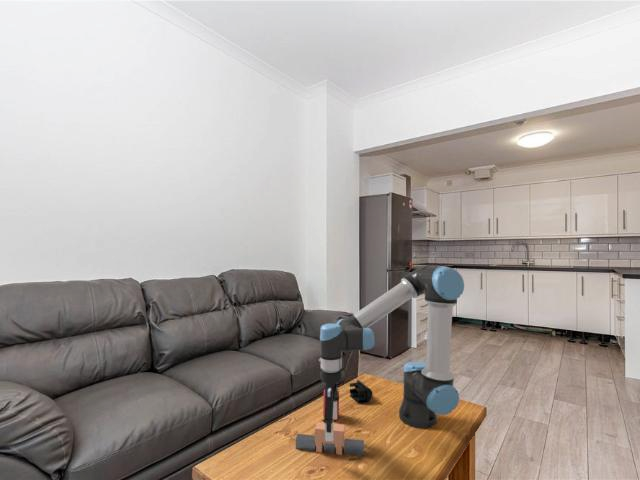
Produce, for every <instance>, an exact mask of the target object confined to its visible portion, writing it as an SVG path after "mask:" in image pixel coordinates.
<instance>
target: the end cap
mask: <svg viewBox="0 0 640 480" xmlns="http://www.w3.org/2000/svg"><path fill="white" fill-rule="evenodd" d="M349 387H350V388H351V389H349V396H350V398H352V399H353V401H355V403H356V404H358V405H361V404H366V403H368V402H369V401H370V400H371V399H372V398H373V391H372V389H371V388H369V387H368V386H367V385H366V384H364V383H363V382H362V381H361V380H356V382H352V383H351V382H350V383H349ZM352 387H354V388H352Z"/></svg>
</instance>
